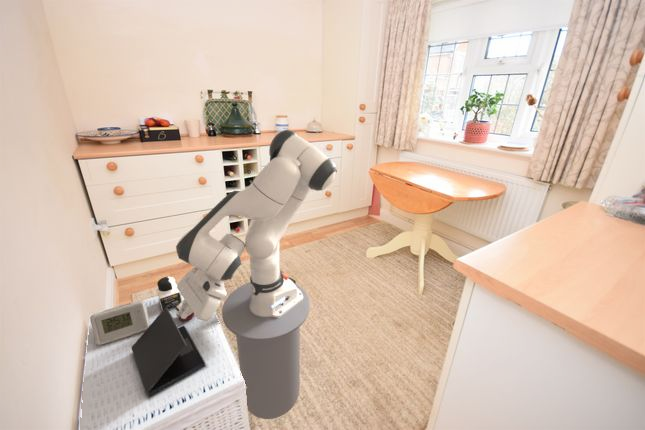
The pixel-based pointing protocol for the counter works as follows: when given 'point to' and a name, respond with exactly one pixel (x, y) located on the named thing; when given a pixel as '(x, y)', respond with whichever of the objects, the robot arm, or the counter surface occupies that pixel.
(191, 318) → the cupcake
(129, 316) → the digital clock
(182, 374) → the laptop
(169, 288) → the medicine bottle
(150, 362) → the laptop screen
